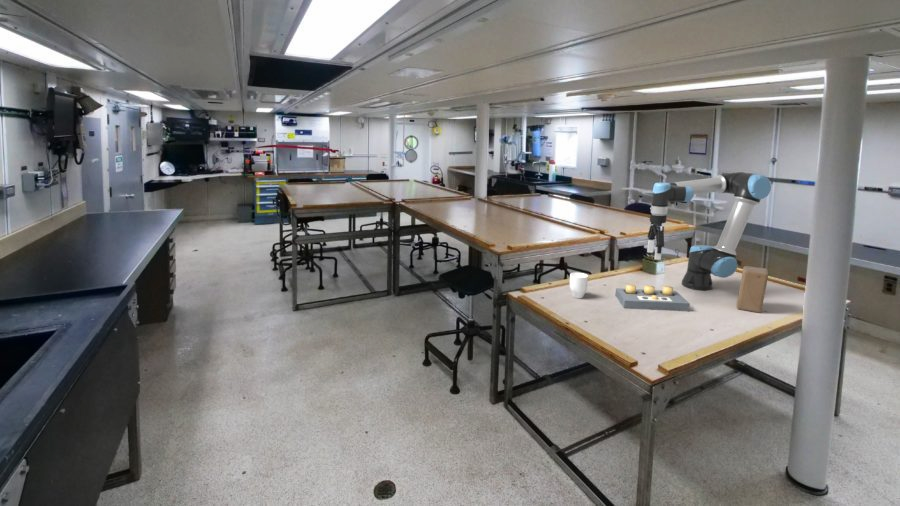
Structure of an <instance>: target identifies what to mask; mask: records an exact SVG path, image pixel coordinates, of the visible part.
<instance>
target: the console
mask: <svg viewBox="0 0 900 506" xmlns="http://www.w3.org/2000/svg"><path fill="white" fill-rule="evenodd" d="M662 291H663V289H655V290H654V295H656V296H658V297H669V298H670V299H671V300H672V302H669V301H647V300H639V298H638V297H637V296H648V297H652V295H644V288H643V289H641V288H636V293H635V294H626V293H625V292H626V288H621V287H620V288H615V294H614V295H615V297H616V298H617V301H618V302H619V303H620V305H621V306H622V308H623V309H629V310H630V309H631V310H650V311H652V310H655V311H670V312H671V311H674V312H675V311H676V312H690V311H689V310H690V305H691V304H690V302H689V301H688V300H686V298H685V297H684V296H682V294H680V293H679V292H678V291H677V290H673V295H672V296H665V295H662Z"/></svg>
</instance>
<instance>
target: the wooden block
mask: <svg viewBox="0 0 900 506" xmlns="http://www.w3.org/2000/svg"><path fill="white" fill-rule="evenodd" d="M768 278H769V271H768V269H767V268H764V267H757V266H749V265H745V266H743V268H742V273H741V279H740V284H739V285H740V286H739V290H738V296H737V299H736V300H737V302H736V309H738V310H741V311H747V312H753V313H758V314H759V313H761V312H762V310H763V305H764V299H765V294H766V289H767V283H768Z"/></svg>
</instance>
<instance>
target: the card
mask: <svg viewBox="0 0 900 506" xmlns="http://www.w3.org/2000/svg"><path fill="white" fill-rule="evenodd" d="M637 297H638V298H639V300H647V301H669V302H672V300H671V299H670V298H669V297H658V296H656V295H652V297H648V296H637Z"/></svg>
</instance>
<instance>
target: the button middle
mask: <svg viewBox="0 0 900 506" xmlns="http://www.w3.org/2000/svg"><path fill="white" fill-rule="evenodd" d="M655 288H656V287H655V286H654V285H650V284H649V285H644V288H643V289H644V295H654V290H656V289H655Z"/></svg>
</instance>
